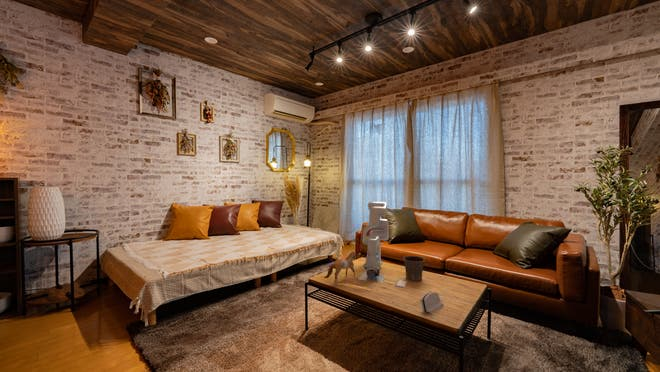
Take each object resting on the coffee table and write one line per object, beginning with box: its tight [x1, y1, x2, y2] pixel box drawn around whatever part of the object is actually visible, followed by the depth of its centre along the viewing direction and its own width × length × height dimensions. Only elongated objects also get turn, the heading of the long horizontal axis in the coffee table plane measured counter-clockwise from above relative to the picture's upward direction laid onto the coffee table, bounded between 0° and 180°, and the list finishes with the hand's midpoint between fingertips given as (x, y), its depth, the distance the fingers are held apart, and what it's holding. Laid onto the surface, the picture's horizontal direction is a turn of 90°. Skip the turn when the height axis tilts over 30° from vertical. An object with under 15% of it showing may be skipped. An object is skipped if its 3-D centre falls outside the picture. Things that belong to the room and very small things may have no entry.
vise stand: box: [357, 270, 386, 284], centre depth 216 cm, size 18×18×6 cm
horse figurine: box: [323, 251, 357, 286], centre depth 211 cm, size 31×8×21 cm, turn 126°
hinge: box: [420, 291, 445, 315], centre depth 169 cm, size 17×5×10 cm, turn 131°
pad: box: [394, 279, 408, 289], centre depth 207 cm, size 11×11×1 cm
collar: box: [366, 268, 376, 279], centre depth 216 cm, size 6×6×5 cm
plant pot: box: [403, 255, 425, 282], centre depth 217 cm, size 16×16×16 cm
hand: (372, 275), depth 216 cm, fingers closed on collar, 6 cm apart
